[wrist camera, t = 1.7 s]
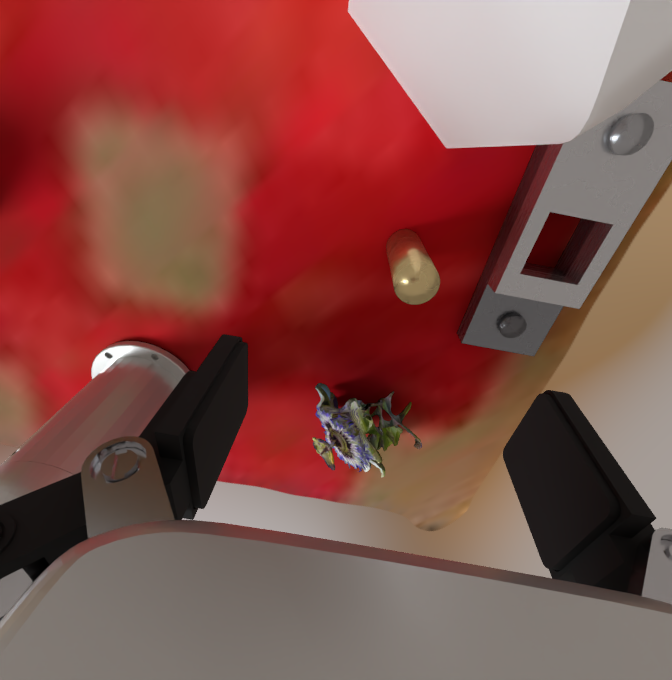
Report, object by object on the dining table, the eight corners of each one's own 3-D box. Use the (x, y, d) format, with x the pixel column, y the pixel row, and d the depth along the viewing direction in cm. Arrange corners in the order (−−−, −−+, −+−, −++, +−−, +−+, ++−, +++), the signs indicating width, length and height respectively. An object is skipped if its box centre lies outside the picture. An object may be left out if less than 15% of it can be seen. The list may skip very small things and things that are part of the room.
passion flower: (335, 376, 47) (286, 390, 36) (411, 360, 43) (381, 371, 32) (354, 458, 46) (309, 497, 36) (433, 450, 42) (410, 493, 31)
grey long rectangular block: (526, 345, 37) (545, 371, 33) (456, 332, 36) (468, 357, 32) (665, 96, 25) (722, 90, 21) (565, 75, 25) (604, 65, 21)
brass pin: (407, 269, 33) (421, 311, 25) (379, 252, 32) (385, 291, 25) (428, 240, 31) (449, 276, 24) (399, 222, 31) (411, 253, 23)
